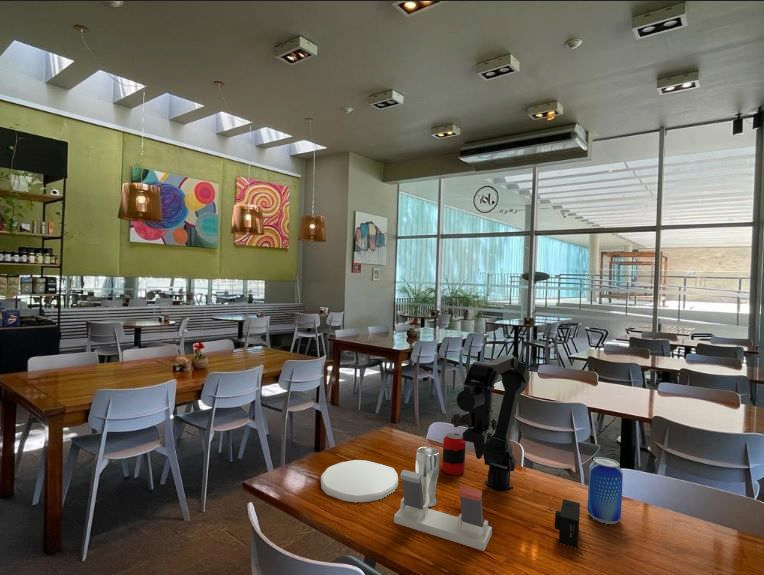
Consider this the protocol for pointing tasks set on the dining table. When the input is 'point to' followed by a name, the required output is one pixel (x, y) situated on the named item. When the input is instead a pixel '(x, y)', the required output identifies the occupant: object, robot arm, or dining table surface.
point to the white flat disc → (359, 481)
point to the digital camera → (568, 523)
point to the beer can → (605, 490)
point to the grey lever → (412, 489)
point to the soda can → (453, 454)
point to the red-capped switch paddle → (471, 506)
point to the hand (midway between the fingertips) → (478, 458)
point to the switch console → (444, 526)
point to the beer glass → (428, 472)
